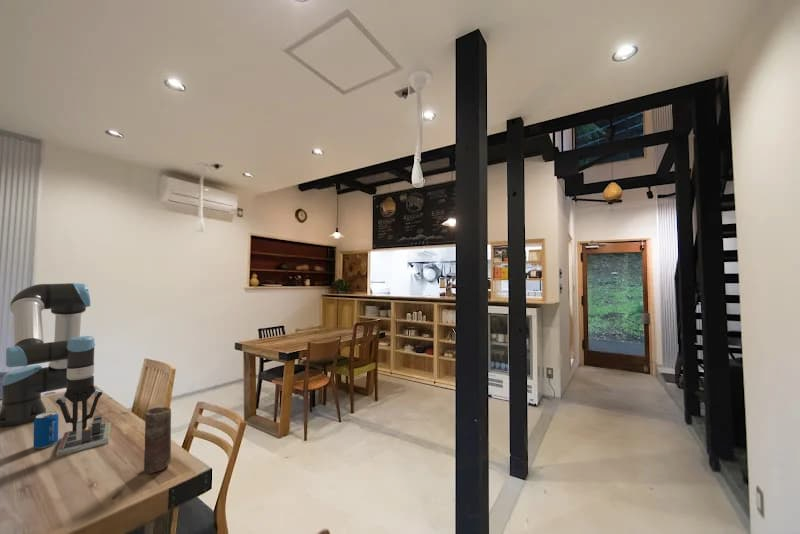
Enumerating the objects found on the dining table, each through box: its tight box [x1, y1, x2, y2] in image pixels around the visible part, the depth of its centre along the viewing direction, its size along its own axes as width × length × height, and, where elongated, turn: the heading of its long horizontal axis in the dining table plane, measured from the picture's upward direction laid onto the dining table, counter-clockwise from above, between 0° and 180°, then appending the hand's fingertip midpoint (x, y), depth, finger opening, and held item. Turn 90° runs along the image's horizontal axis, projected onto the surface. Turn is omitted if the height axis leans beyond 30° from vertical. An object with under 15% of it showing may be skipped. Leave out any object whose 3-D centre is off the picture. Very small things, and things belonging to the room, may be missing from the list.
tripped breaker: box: [82, 426, 91, 442], centre depth 124 cm, size 4×2×4 cm, turn 40°
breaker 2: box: [91, 419, 101, 434], centre depth 130 cm, size 4×2×4 cm, turn 40°
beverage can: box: [33, 410, 60, 449], centre depth 124 cm, size 6×6×12 cm
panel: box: [56, 421, 112, 457], centre depth 128 cm, size 18×14×2 cm
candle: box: [143, 406, 172, 475], centre depth 110 cm, size 8×7×20 cm
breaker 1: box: [93, 414, 103, 426], centre depth 134 cm, size 4×2×4 cm, turn 40°
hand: (79, 438), depth 122 cm, fingers closed
